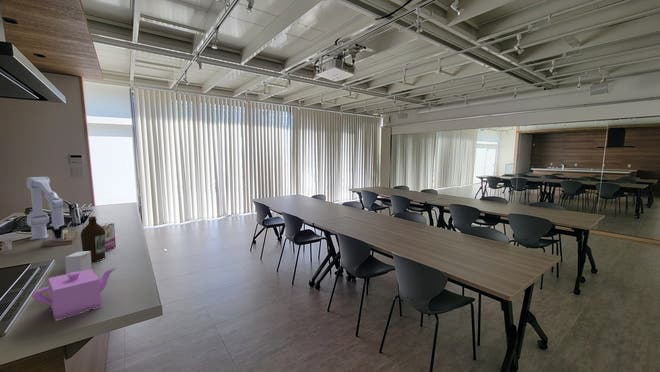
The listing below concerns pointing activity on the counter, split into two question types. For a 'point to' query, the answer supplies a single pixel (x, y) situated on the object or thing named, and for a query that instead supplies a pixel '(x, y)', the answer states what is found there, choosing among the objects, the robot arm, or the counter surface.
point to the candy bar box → (109, 235)
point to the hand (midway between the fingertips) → (59, 237)
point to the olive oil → (94, 239)
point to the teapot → (73, 292)
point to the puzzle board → (67, 240)
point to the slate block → (58, 238)
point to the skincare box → (78, 262)
